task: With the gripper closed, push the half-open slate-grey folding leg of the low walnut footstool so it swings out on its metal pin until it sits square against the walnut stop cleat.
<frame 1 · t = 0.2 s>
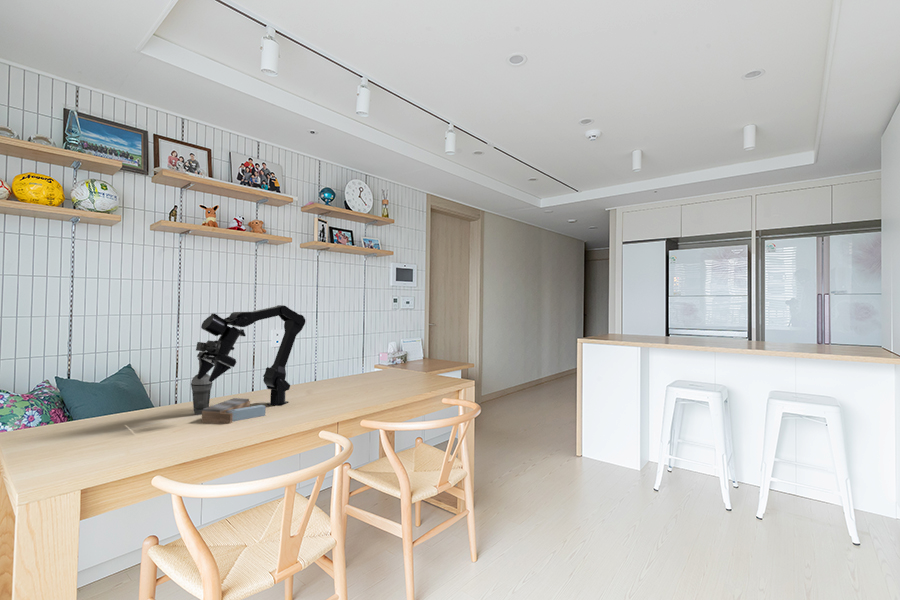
hand: (204, 380, 155), 14 cm above the table, tool tilted 30°, fingers open, 9 cm apart
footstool: (227, 416, 160), on the table
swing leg: (245, 413, 157), point 2 cm above the table, hinge at 35.0°
beverage cup: (201, 414, 163), on the table
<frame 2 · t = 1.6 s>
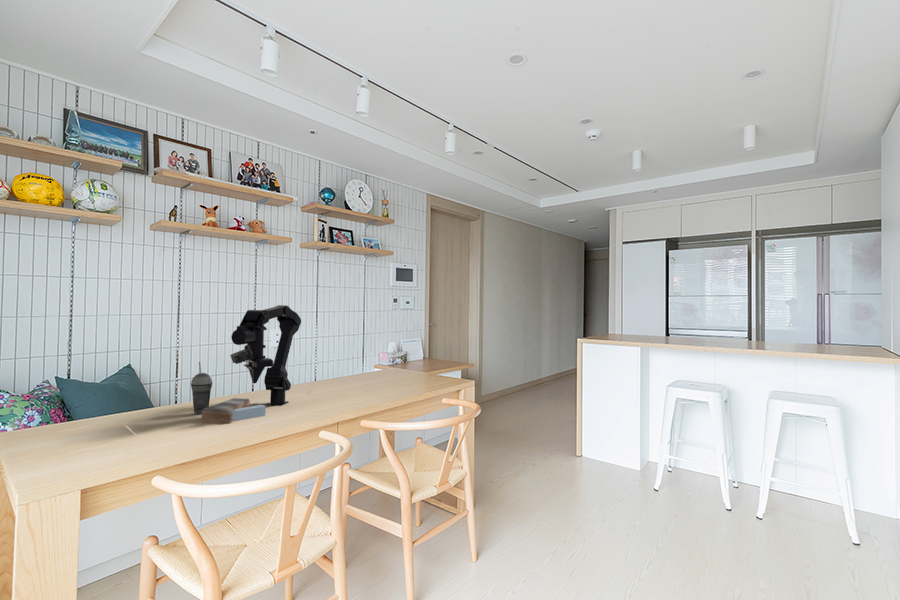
hand: (254, 383, 164), 12 cm above the table, tool pointing down, fingers closed
nothing on the table moved.
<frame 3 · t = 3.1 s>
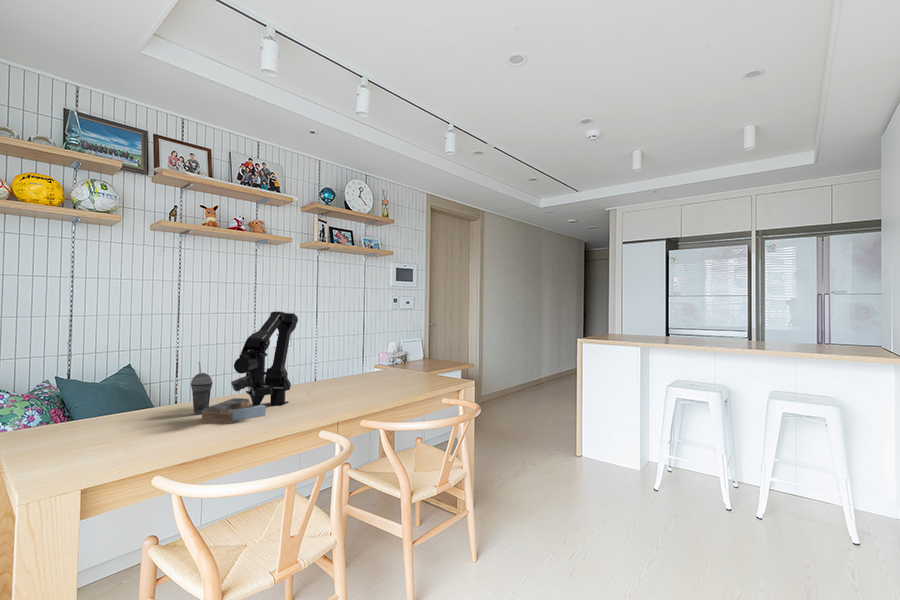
hand: (255, 410, 163), 2 cm above the table, tool pointing down, fingers closed
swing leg: (245, 413, 157), point 2 cm above the table, hinge at 35.3°, touching gripper
everything else where it was.
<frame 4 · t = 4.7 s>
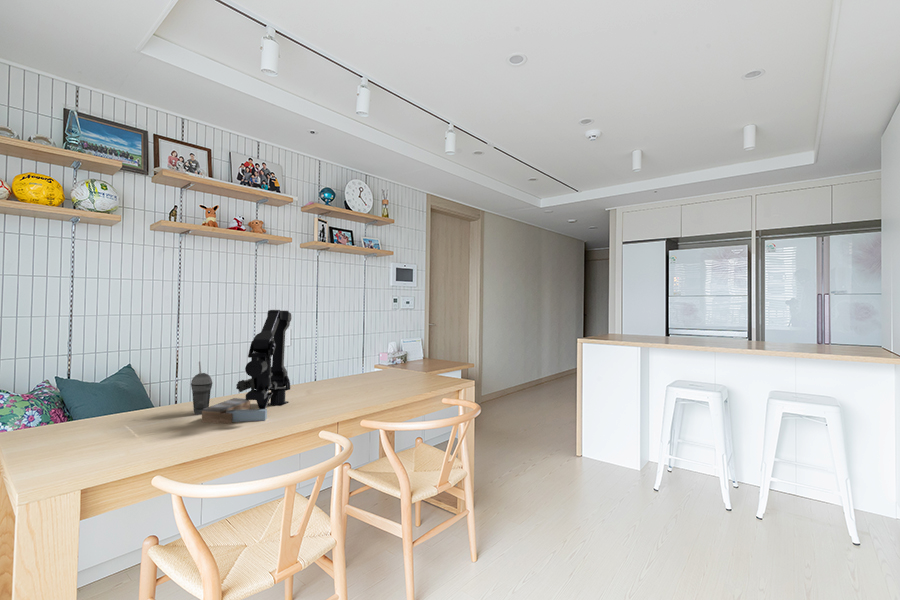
hand: (261, 413, 158), 2 cm above the table, tool pointing down, fingers closed
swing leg: (246, 415, 155), point 2 cm above the table, hinge at 69.8°, touching gripper
everything else where it was.
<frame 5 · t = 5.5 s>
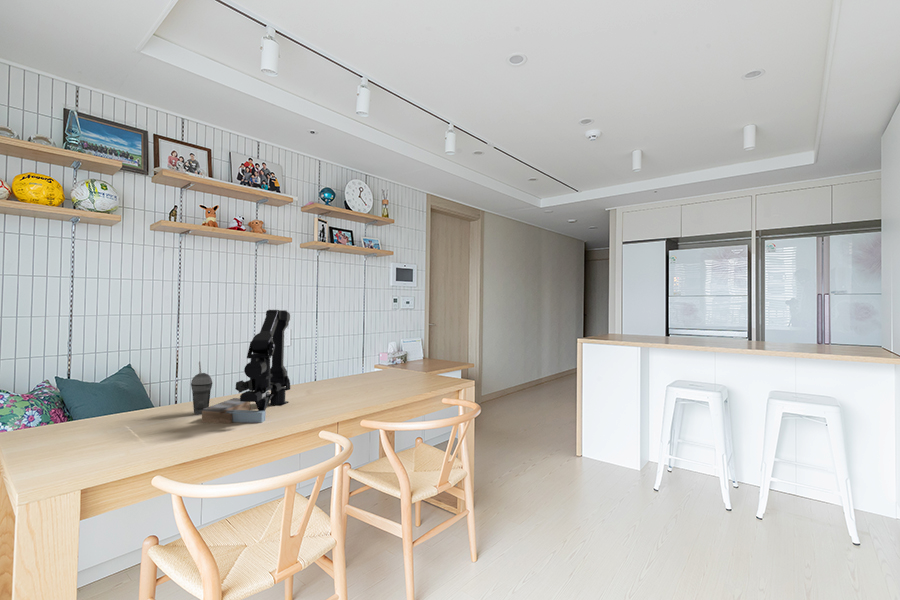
hand: (261, 414, 156), 2 cm above the table, tool pointing down, fingers closed
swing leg: (245, 416, 153), point 2 cm above the table, hinge at 83.2°, touching gripper
everything else where it was.
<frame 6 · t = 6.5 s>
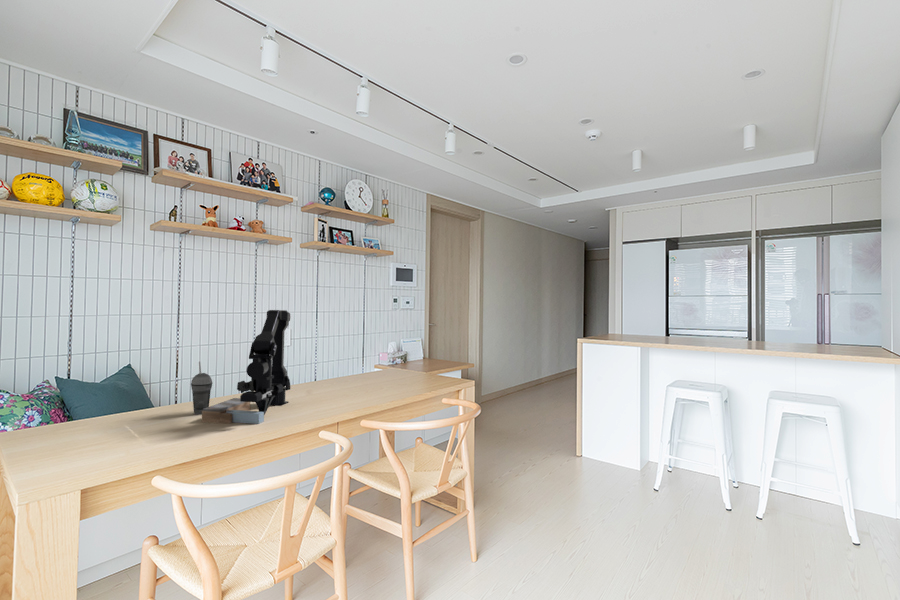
hand: (262, 415, 156), 2 cm above the table, tool pointing down, fingers closed
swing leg: (243, 416, 153), point 2 cm above the table, hinge at 90.4°
everything else where it was.
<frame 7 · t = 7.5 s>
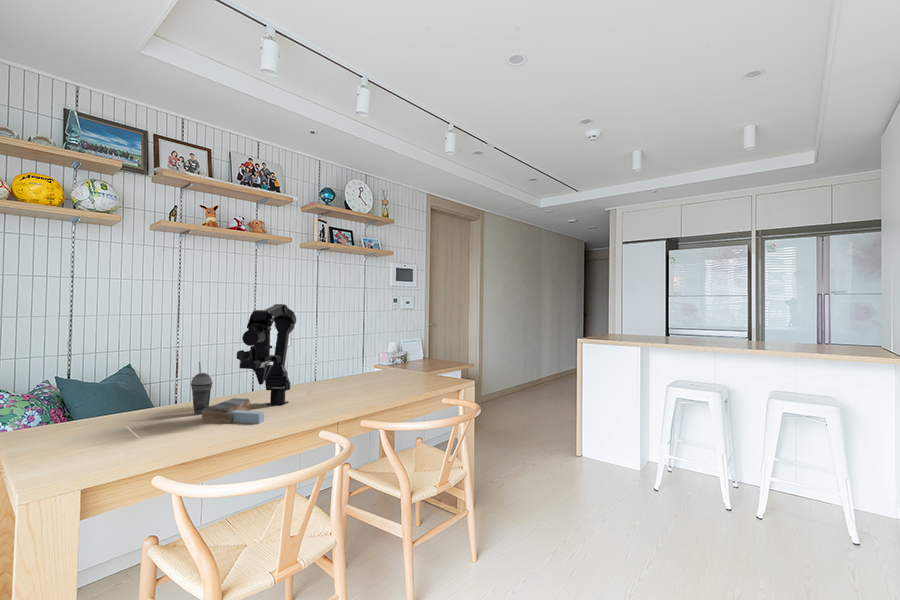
hand: (260, 384, 162), 12 cm above the table, tool pointing down, fingers closed
nothing on the table moved.
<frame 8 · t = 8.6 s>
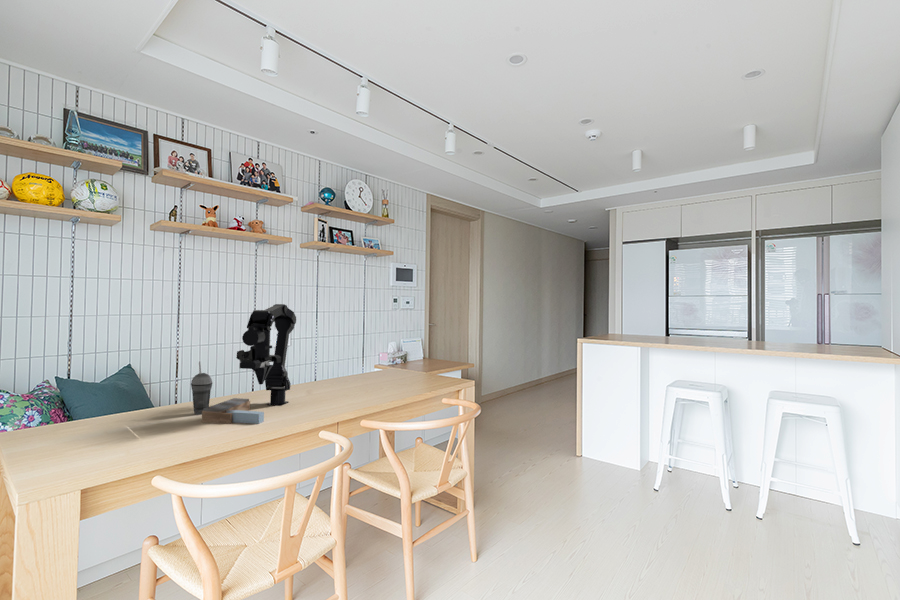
hand: (260, 384, 162), 12 cm above the table, tool pointing down, fingers closed
nothing on the table moved.
at the end: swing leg at +90° (first picture: +35°); beverage cup moved 0.2 cm from its start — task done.
